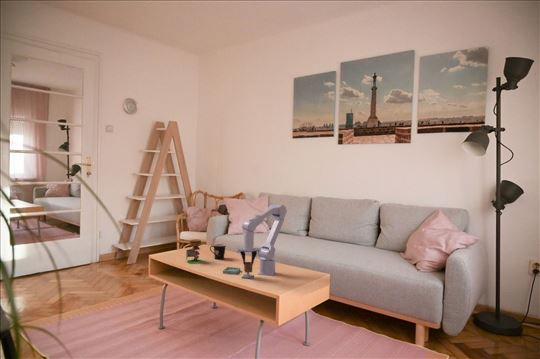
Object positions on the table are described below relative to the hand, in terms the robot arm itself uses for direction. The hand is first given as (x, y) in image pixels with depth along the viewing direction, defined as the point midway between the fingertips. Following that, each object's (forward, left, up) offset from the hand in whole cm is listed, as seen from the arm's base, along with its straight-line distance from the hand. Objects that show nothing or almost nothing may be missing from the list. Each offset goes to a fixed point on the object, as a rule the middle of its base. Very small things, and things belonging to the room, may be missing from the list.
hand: (248, 264), depth 214 cm
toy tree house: (+44, -26, -8) cm, 52 cm away
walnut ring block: (0, 0, -4) cm, 4 cm away
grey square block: (0, 0, -8) cm, 8 cm away
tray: (+13, -8, -8) cm, 17 cm away
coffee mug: (+32, -39, -8) cm, 51 cm away
